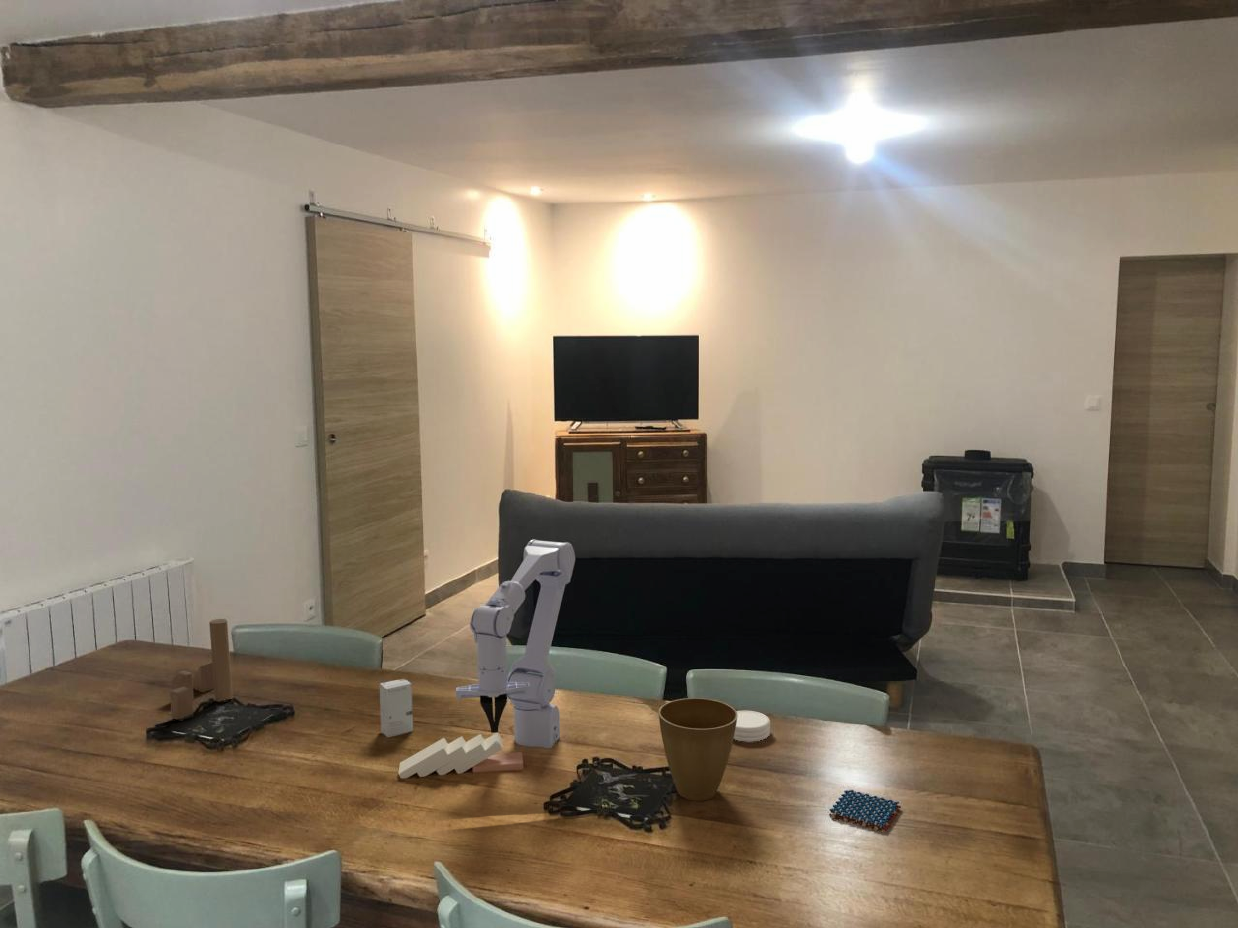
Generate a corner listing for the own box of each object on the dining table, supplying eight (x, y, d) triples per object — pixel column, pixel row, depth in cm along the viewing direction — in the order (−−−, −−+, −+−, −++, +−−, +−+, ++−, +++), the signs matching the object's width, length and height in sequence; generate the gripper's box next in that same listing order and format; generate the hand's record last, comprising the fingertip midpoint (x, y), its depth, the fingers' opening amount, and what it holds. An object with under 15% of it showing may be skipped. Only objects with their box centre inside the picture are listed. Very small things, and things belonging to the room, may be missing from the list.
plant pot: (685, 818, 168) (684, 734, 166) (645, 784, 181) (644, 706, 179) (752, 799, 175) (753, 718, 173) (709, 767, 188) (709, 691, 186)
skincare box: (387, 743, 201) (385, 689, 200) (380, 735, 205) (377, 683, 203) (414, 736, 205) (412, 683, 203) (407, 729, 208) (405, 677, 207)
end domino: (472, 763, 189) (522, 759, 191) (472, 774, 184) (523, 770, 186) (472, 755, 189) (521, 751, 191) (472, 766, 184) (523, 762, 186)
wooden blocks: (200, 682, 239) (194, 607, 236) (245, 698, 228) (240, 619, 225) (134, 704, 225) (127, 624, 222) (179, 722, 214) (172, 638, 211)
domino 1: (404, 768, 187) (448, 743, 188) (402, 780, 182) (447, 754, 183) (400, 762, 187) (444, 737, 188) (398, 773, 182) (443, 748, 183)
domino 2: (422, 767, 188) (465, 742, 189) (420, 778, 183) (465, 752, 184) (418, 760, 188) (461, 735, 188) (416, 772, 183) (461, 746, 183)
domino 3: (441, 765, 189) (484, 739, 189) (440, 776, 184) (484, 750, 184) (437, 759, 188) (480, 733, 189) (436, 770, 183) (480, 743, 184)
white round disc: (718, 739, 201) (718, 724, 201) (731, 721, 211) (731, 706, 210) (764, 746, 198) (764, 730, 197) (774, 728, 207) (774, 713, 206)
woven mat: (886, 836, 162) (886, 825, 162) (827, 820, 168) (827, 810, 167) (902, 810, 171) (903, 800, 171) (846, 796, 176) (846, 786, 176)
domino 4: (458, 763, 189) (501, 738, 190) (458, 774, 184) (502, 748, 185) (454, 757, 189) (497, 731, 190) (454, 768, 184) (498, 742, 185)
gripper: (454, 674, 180) (457, 741, 182) (530, 669, 182) (531, 735, 184) (455, 662, 187) (458, 726, 188) (528, 657, 189) (529, 721, 191)
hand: (494, 730), depth 187 cm, fingers closed
